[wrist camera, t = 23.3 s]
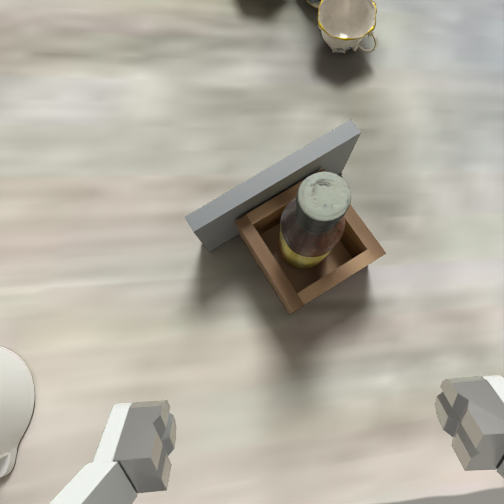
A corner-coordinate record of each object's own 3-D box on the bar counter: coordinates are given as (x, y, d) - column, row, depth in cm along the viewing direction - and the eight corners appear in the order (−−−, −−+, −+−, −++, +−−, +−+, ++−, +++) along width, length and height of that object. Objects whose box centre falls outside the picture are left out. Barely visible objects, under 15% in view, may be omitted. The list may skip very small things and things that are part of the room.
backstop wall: (209, 252, 45) (193, 231, 36) (202, 240, 46) (184, 217, 36) (341, 172, 47) (361, 132, 37) (333, 161, 48) (350, 119, 38)
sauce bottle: (294, 217, 45) (314, 135, 26) (334, 241, 44) (386, 175, 25) (268, 256, 44) (268, 202, 25) (308, 282, 43) (341, 247, 24)
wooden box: (289, 314, 43) (293, 312, 36) (240, 236, 46) (235, 220, 39) (367, 264, 44) (386, 253, 37) (315, 191, 47) (323, 168, 40)
